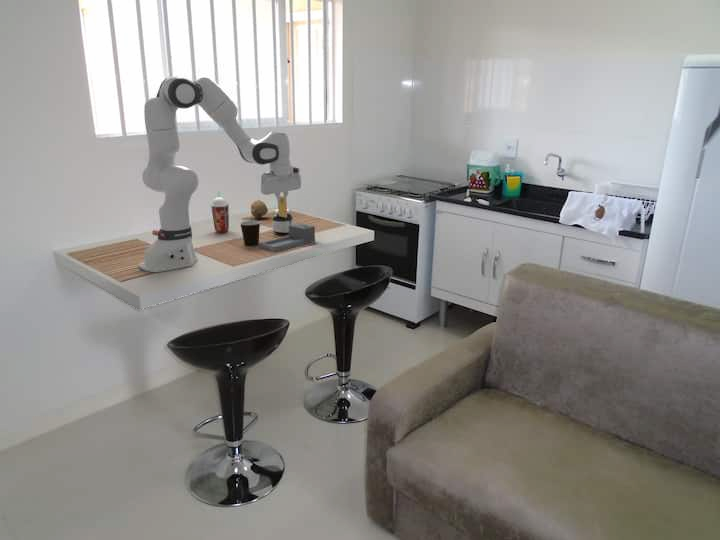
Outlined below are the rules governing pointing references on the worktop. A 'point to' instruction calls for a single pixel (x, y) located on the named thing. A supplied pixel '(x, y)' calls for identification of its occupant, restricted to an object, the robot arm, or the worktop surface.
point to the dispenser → (291, 238)
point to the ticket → (282, 208)
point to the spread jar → (282, 223)
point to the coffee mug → (250, 232)
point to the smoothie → (220, 214)
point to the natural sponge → (258, 209)
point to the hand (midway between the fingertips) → (282, 202)
